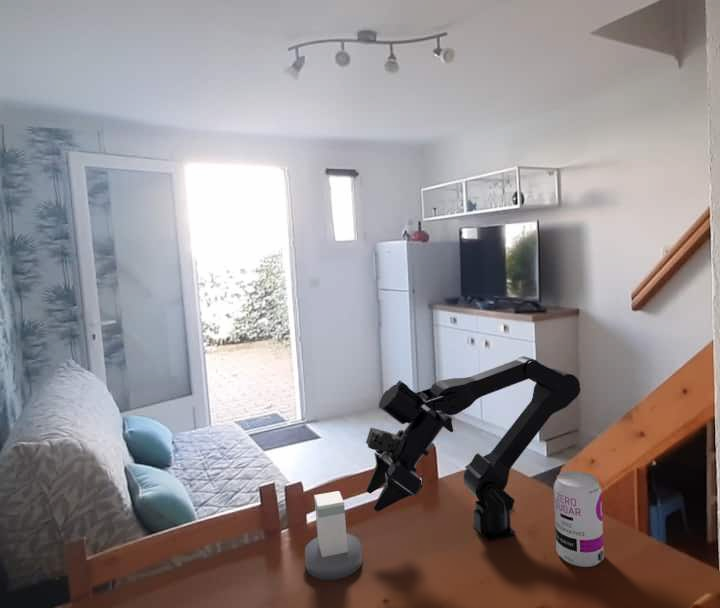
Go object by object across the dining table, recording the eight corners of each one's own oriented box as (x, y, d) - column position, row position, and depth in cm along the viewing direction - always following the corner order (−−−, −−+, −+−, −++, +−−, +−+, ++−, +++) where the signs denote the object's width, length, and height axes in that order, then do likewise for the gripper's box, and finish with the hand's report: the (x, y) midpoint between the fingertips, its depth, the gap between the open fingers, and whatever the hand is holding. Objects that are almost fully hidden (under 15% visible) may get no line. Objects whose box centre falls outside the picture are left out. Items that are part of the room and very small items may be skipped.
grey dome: (353, 542, 107) (352, 528, 106) (369, 571, 96) (367, 556, 96) (301, 553, 104) (300, 539, 103) (311, 585, 93) (310, 570, 93)
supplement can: (603, 547, 98) (600, 472, 97) (604, 572, 91) (601, 491, 90) (558, 540, 102) (555, 468, 100) (555, 564, 94) (551, 486, 93)
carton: (342, 538, 103) (339, 490, 102) (348, 552, 98) (344, 501, 97) (318, 543, 102) (314, 495, 101) (322, 557, 97) (317, 506, 96)
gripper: (378, 403, 111) (335, 462, 109) (396, 424, 92) (344, 495, 91) (418, 433, 112) (376, 492, 111) (443, 459, 93) (393, 530, 92)
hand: (371, 500), depth 101 cm, fingers open, 9 cm apart
